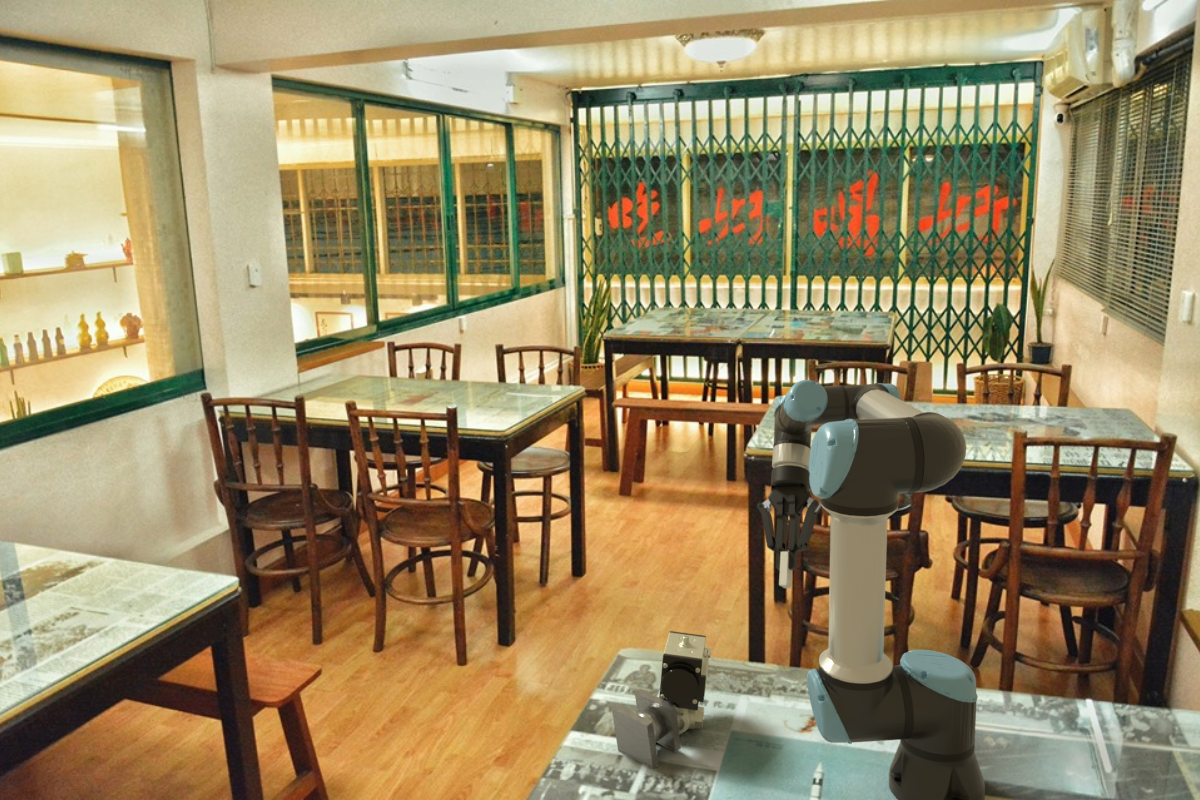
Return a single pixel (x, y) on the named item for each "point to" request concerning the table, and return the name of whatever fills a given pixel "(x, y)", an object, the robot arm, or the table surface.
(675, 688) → the ball valve
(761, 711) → the table surface
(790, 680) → the table surface
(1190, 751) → the table surface
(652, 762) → the flanged fitting
